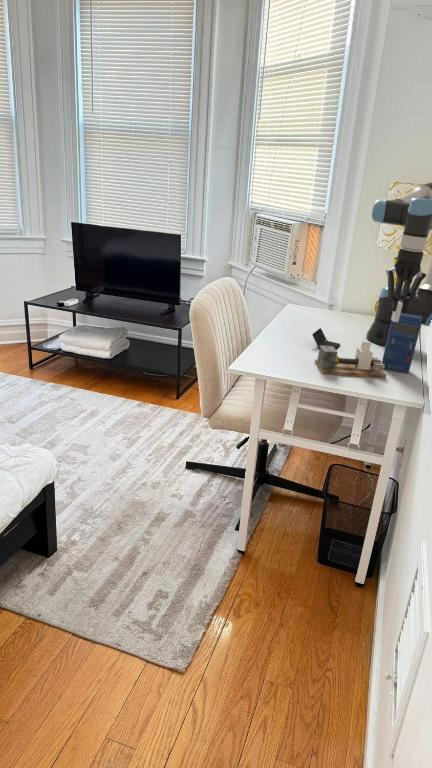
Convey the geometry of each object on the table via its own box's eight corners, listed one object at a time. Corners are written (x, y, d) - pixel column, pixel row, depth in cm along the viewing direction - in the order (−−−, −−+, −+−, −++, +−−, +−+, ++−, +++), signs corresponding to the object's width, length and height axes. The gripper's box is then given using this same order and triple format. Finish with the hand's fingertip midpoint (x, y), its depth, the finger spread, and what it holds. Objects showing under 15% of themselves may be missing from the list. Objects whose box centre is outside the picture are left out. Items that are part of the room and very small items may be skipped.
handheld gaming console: (339, 349, 198) (327, 326, 198) (322, 358, 201) (309, 334, 200) (341, 345, 209) (329, 323, 209) (324, 353, 212) (313, 331, 211)
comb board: (374, 366, 189) (378, 347, 186) (385, 378, 179) (390, 358, 176) (314, 362, 187) (318, 343, 184) (322, 373, 177) (326, 353, 174)
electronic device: (381, 369, 187) (394, 314, 179) (380, 364, 192) (393, 311, 184) (408, 374, 185) (423, 319, 177) (407, 369, 190) (421, 315, 182)
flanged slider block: (364, 364, 185) (370, 339, 182) (369, 369, 181) (374, 344, 177) (353, 364, 185) (358, 339, 181) (357, 369, 180) (363, 343, 177)
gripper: (426, 249, 172) (408, 319, 181) (387, 245, 170) (372, 316, 179) (436, 253, 165) (417, 325, 174) (396, 249, 164) (379, 322, 173)
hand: (394, 320), depth 177 cm, fingers closed
